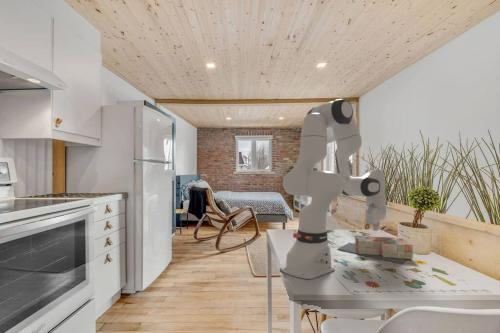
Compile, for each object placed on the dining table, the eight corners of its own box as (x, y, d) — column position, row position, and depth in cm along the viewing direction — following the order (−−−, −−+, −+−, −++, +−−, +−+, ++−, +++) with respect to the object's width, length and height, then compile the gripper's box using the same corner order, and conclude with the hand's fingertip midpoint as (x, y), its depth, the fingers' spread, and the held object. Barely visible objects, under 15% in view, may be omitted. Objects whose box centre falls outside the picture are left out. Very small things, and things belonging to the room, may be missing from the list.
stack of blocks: (355, 247, 124) (360, 255, 112) (354, 235, 124) (360, 242, 112) (402, 250, 120) (413, 259, 107) (402, 237, 120) (413, 245, 108)
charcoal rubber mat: (402, 264, 103) (402, 262, 103) (337, 249, 123) (337, 248, 123) (409, 255, 114) (409, 254, 114) (349, 243, 134) (349, 242, 134)
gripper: (376, 205, 114) (376, 235, 113) (388, 201, 129) (388, 228, 128) (361, 203, 118) (362, 232, 118) (375, 200, 133) (375, 226, 133)
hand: (376, 230), depth 123 cm, fingers closed
